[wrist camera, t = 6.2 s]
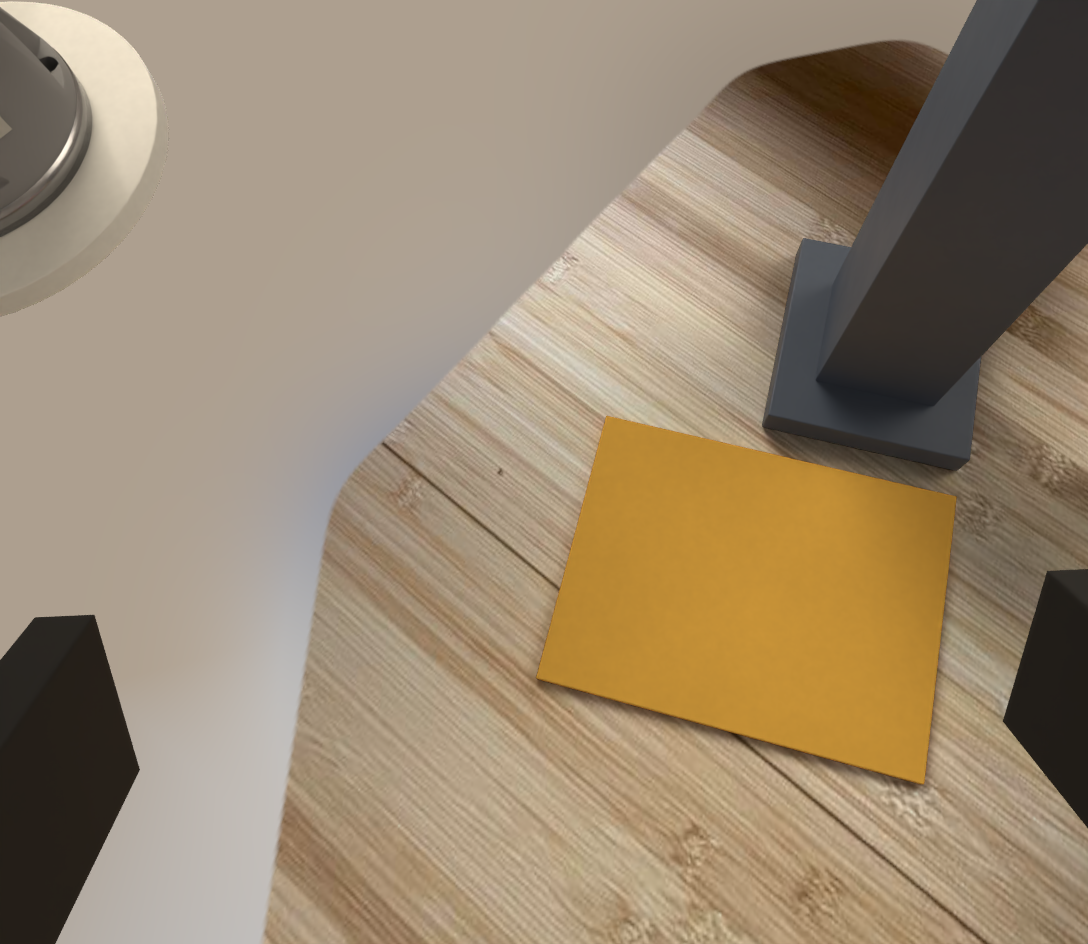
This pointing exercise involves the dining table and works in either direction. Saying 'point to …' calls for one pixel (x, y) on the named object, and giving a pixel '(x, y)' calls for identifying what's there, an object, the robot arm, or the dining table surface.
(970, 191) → the grey slanted pedestal
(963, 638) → the dining table surface
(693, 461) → the cloth
